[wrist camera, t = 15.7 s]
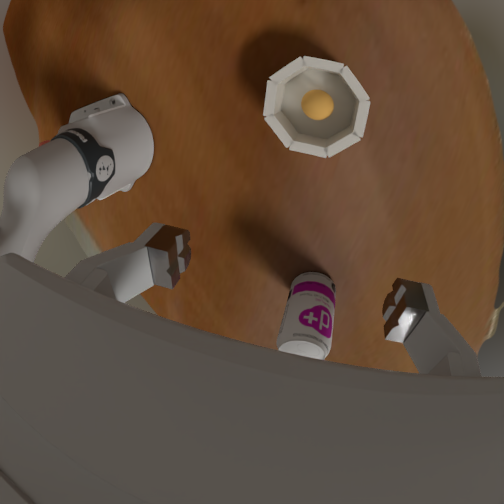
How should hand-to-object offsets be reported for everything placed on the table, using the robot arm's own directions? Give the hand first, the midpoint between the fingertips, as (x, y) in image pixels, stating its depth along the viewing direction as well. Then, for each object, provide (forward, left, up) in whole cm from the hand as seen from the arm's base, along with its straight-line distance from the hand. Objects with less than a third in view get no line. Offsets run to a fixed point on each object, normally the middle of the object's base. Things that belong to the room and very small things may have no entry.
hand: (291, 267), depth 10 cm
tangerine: (-1, +3, -27) cm, 27 cm away
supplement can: (+5, -28, -30) cm, 41 cm away
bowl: (-1, +3, -30) cm, 30 cm away
